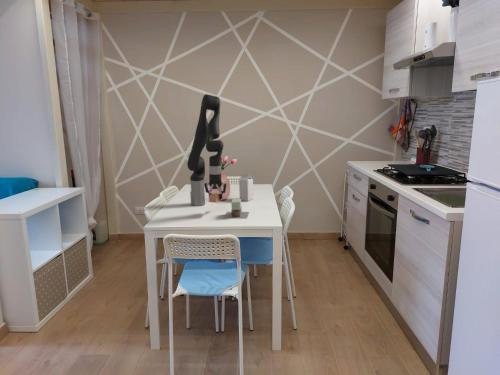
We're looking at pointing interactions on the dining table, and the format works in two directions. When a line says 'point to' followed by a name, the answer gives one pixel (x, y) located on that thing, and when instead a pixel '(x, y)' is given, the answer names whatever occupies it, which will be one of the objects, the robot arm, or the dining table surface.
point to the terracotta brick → (214, 197)
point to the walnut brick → (236, 213)
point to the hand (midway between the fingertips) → (215, 199)
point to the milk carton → (246, 187)
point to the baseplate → (243, 216)
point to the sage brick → (236, 204)
